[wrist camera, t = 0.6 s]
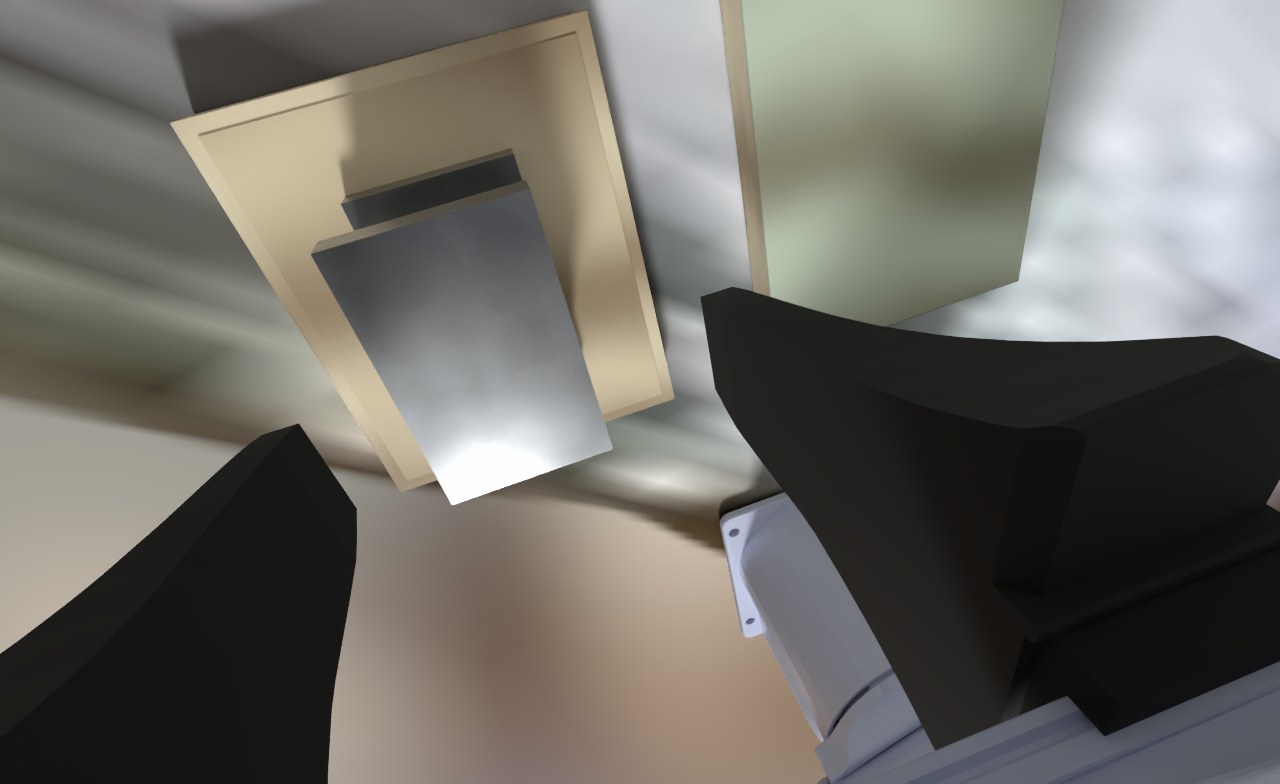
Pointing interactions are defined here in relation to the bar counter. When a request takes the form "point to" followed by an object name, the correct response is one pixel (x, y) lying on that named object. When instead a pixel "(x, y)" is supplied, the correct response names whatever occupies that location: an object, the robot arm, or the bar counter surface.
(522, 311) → the block
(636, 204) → the bar counter surface
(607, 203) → the stand
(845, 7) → the stand
